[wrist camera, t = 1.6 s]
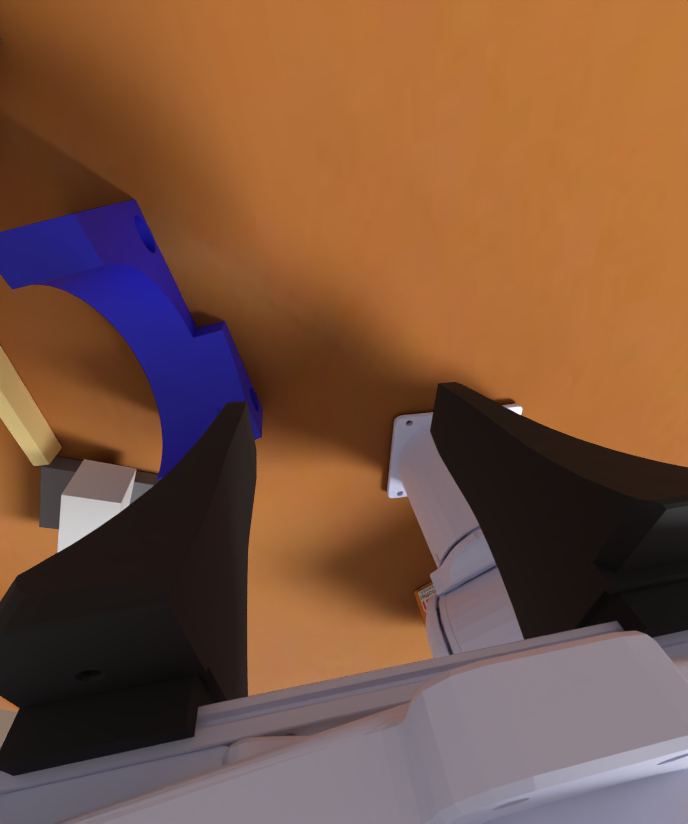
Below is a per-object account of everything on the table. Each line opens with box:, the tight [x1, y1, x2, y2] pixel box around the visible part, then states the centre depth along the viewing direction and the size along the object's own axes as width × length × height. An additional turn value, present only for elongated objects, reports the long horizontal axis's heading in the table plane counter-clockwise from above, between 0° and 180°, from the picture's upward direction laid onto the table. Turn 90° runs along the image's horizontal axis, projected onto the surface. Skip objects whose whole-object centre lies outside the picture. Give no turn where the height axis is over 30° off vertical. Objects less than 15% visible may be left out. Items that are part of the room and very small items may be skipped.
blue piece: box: [0, 199, 263, 480], centre depth 16 cm, size 12×4×6 cm, turn 11°
